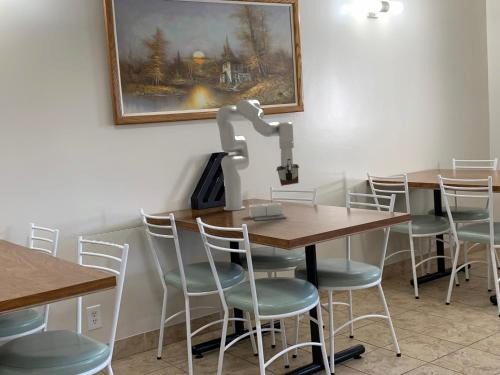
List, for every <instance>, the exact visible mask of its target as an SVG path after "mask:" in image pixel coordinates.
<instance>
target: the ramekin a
mask: <svg viewBox="0 0 500 375" xmlns="http://www.w3.org/2000/svg"><path fill="white" fill-rule="evenodd" d="M264 204H265V203H258V204H249V205H248V212H249V213H248V214H249V218H250V219H253V217H261V216H266V206H265V205H264Z"/></svg>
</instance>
